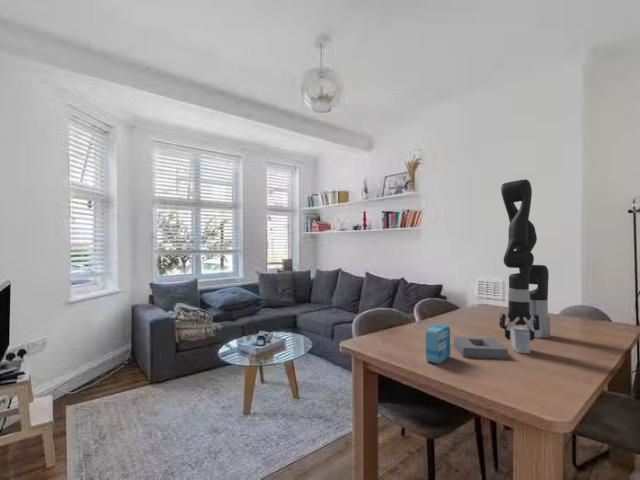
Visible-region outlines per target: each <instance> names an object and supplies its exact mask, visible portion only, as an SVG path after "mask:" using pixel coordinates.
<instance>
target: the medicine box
mask: <svg viewBox="0 0 640 480" xmlns="http://www.w3.org/2000/svg"><path fill="white" fill-rule="evenodd" d="M510 340H511V341H510V343H511V344H510V345H511V346H510V347H511V348H512V349H513V350H514V351H516V352H517V353H518V354H531V340H530V332H529V331H527V330H525V327H521V326H520V327H519V326H513V327H511V328H510Z"/></svg>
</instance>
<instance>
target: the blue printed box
mask: <svg viewBox="0 0 640 480" xmlns="http://www.w3.org/2000/svg"><path fill="white" fill-rule="evenodd" d="M450 356H451V329H450V326H448V325H441V324H436V325H434V326H431V327H430V328H427V329H426V331H425V360H426V362H429V363H433V364H437V365H440V364H442V363H443V362H444V361H446V360H447V359H449V358H450Z"/></svg>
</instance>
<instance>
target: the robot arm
mask: <svg viewBox="0 0 640 480" xmlns="http://www.w3.org/2000/svg"><path fill="white" fill-rule="evenodd" d="M500 188H501V189H500V191H501V196H502V201H503V204H504V206H505V210H506V213H507V216H508V217H507V218H508V221H509V226H508V243H507V247H506V250H505V253H504V256H503V264H504V265H505V267H506V268H511V269H518V270H519V271H518V272H517V273H511V274H509V276H508V295H507V297H508V303H507V304H508V307H507V310H508V312H507V313H503V312H500V314H499V328H501V329H502V330H504V337H505V339H507V340H509V341H510V340H511V327H515V325H516V326H524V329H525V330H527V331H529V332H530V342H531V341H534V339H535V338H539V339H546V338H551V316H549V309H548V308H549V307H548V306H549V303H548V302H549V301H548V299H549V298H548V297H549V279H550V278H549V276H550V275H549V269H548V266H547V265H545V264H544V265H543V264H534V262H535V257H534V254H533V252H532V250H533V249H534V248H535V245H536V244H537V240H538V238H537V232H536V228H535V225H534V224H533V223H532V222H531V221H530V219H529V217H530V212H531V205H532V198H533V195H532V193H533V191H532V190H533V189H532V185H531V181H529V180H528V179H519V180H512V181H508V182H504V183H503V184H502V185H501V187H500ZM519 202H521V204H520V207H519V208H517V206H516V204H515V203H519ZM530 285H537V288H535V289H533V290H529V289H530ZM507 319H509V320H508V321H507V322H506V320H507Z"/></svg>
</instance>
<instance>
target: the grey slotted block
mask: <svg viewBox="0 0 640 480" xmlns="http://www.w3.org/2000/svg"><path fill="white" fill-rule="evenodd" d="M453 347H454V348H456V350H457V351H458V352H459V354H460V355H461V356H462V357H463V358H479V359H481V358H483V359H486V358H487V359H507V360H508V358H509V350H508V348H507V347H505V346H504V345H502V343H500V341H497V340H496V339H494V338H492V337H462V336H456V337H455V336H453Z"/></svg>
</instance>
